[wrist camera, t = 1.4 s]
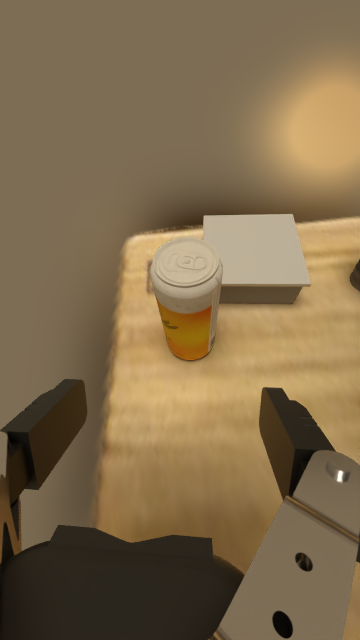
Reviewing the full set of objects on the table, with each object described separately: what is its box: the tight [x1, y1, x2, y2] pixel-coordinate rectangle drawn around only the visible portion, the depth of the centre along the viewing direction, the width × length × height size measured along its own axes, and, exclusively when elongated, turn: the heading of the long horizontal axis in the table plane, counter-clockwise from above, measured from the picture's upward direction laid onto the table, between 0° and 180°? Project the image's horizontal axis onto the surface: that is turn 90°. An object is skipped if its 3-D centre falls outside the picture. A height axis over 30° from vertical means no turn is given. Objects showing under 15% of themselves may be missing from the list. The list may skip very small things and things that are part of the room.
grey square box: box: [203, 214, 311, 304], centre depth 36 cm, size 13×13×5 cm
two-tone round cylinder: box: [150, 237, 223, 360], centre depth 26 cm, size 6×6×15 cm
